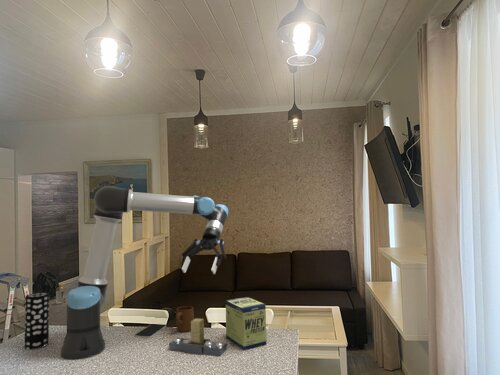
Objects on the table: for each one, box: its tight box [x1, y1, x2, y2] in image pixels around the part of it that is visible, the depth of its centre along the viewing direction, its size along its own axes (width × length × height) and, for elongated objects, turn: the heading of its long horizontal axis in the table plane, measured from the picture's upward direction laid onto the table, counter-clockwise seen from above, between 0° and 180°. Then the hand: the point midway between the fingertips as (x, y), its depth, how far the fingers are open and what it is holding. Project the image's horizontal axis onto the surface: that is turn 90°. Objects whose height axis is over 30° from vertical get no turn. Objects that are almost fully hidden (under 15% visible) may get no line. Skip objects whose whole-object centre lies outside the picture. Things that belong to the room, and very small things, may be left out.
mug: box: [175, 305, 195, 333], centre depth 153 cm, size 12×8×9 cm, turn 166°
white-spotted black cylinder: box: [23, 292, 50, 350], centre depth 141 cm, size 8×8×20 cm
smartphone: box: [133, 323, 167, 339], centre depth 154 cm, size 8×1×15 cm
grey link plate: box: [168, 337, 228, 357], centre depth 131 cm, size 21×7×3 cm, turn 71°
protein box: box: [225, 296, 268, 351], centre depth 139 cm, size 10×16×16 cm
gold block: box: [190, 317, 205, 345], centre depth 132 cm, size 4×4×11 cm
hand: (197, 271), depth 143 cm, fingers open, 13 cm apart
